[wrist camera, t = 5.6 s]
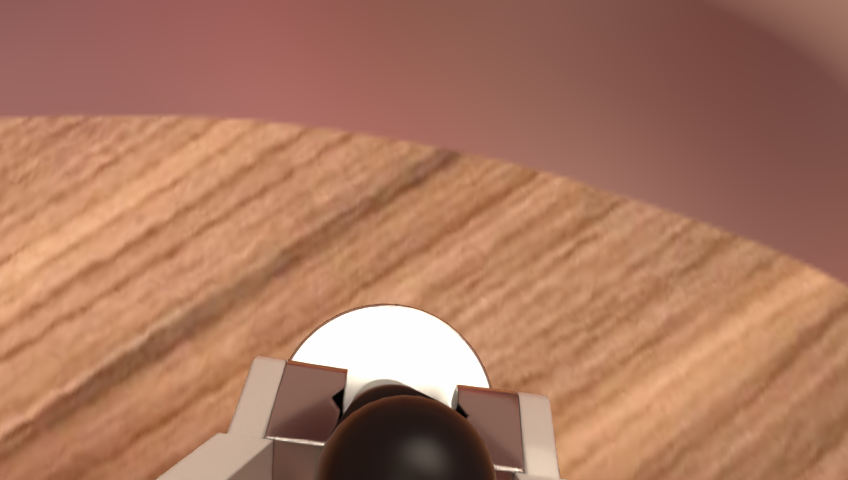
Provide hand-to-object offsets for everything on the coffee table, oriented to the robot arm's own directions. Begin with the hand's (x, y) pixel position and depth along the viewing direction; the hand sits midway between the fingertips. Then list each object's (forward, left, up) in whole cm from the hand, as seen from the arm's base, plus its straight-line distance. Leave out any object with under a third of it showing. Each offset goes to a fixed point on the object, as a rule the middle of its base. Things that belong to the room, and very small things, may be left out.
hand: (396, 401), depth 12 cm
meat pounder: (0, +1, -8) cm, 8 cm away
